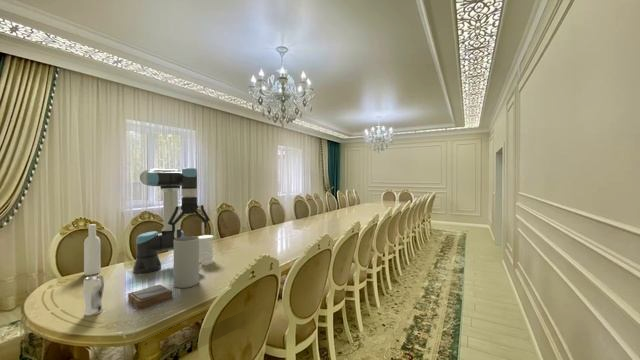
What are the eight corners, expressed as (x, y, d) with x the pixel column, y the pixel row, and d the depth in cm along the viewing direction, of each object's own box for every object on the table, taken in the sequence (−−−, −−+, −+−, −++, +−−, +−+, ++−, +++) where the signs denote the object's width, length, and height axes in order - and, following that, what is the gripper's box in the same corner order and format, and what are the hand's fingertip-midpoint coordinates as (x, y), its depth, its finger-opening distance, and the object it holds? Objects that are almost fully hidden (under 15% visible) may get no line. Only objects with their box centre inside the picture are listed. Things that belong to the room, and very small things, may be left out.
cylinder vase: (181, 279, 155) (181, 236, 155) (203, 279, 155) (202, 236, 155) (168, 288, 143) (168, 241, 142) (192, 288, 142) (191, 241, 142)
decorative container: (199, 260, 191) (199, 235, 191) (216, 259, 193) (216, 234, 193) (193, 265, 180) (193, 238, 180) (211, 265, 181) (211, 238, 181)
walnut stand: (128, 301, 128) (128, 292, 128) (160, 291, 139) (160, 283, 139) (139, 309, 119) (139, 300, 119) (172, 298, 130) (172, 290, 130)
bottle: (104, 271, 169) (103, 223, 169) (91, 275, 161) (91, 225, 161) (93, 270, 170) (93, 223, 170) (80, 275, 163) (80, 225, 163)
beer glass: (91, 308, 120) (91, 275, 120) (108, 308, 121) (107, 274, 121) (78, 316, 113) (78, 281, 113) (96, 316, 114) (96, 280, 114)
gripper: (164, 198, 135) (164, 240, 135) (215, 196, 150) (215, 234, 150) (161, 197, 141) (162, 237, 141) (211, 195, 156) (211, 231, 156)
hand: (189, 235), depth 146 cm, fingers open, 13 cm apart
